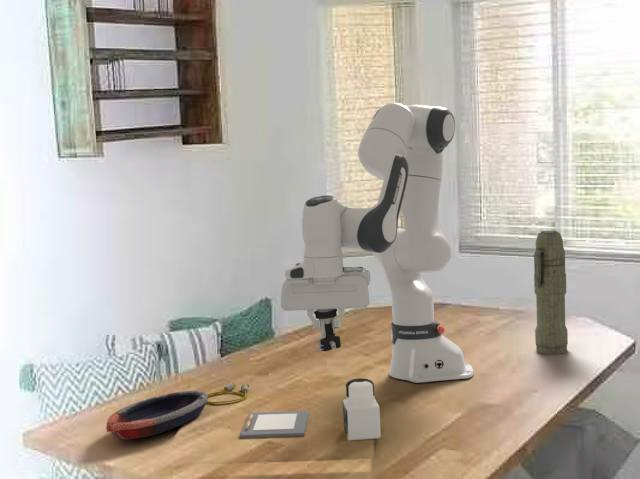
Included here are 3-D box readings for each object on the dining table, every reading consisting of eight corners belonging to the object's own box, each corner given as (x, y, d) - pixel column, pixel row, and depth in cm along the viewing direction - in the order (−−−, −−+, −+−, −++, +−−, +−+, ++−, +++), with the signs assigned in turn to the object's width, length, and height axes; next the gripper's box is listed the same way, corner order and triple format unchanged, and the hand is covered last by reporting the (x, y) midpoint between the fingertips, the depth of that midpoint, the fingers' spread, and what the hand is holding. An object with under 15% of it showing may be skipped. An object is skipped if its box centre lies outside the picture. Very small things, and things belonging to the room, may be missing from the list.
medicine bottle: (344, 430, 197) (341, 377, 196) (376, 428, 197) (373, 375, 196) (347, 441, 190) (345, 386, 188) (381, 438, 190) (378, 383, 189)
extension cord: (267, 393, 231) (267, 386, 231) (223, 409, 219) (223, 401, 219) (234, 387, 239) (234, 380, 238) (190, 402, 227) (189, 394, 226)
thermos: (576, 350, 258) (574, 229, 254) (554, 359, 249) (551, 234, 246) (549, 346, 264) (546, 228, 260) (527, 354, 256) (524, 233, 252)
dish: (226, 411, 216) (225, 391, 216) (131, 450, 191) (129, 428, 191) (180, 403, 225) (178, 384, 225) (83, 439, 200) (81, 417, 200)
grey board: (308, 413, 210) (308, 407, 210) (304, 435, 195) (303, 429, 194) (249, 415, 211) (249, 409, 211) (240, 438, 195) (239, 431, 195)
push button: (324, 354, 200) (319, 310, 199) (309, 352, 204) (304, 309, 203) (346, 347, 204) (341, 304, 203) (331, 345, 208) (326, 303, 208)
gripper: (369, 264, 205) (372, 323, 206) (280, 268, 206) (283, 327, 207) (369, 268, 199) (372, 329, 200) (278, 272, 200) (281, 332, 201)
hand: (326, 328), depth 204 cm, fingers closed on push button, 3 cm apart
